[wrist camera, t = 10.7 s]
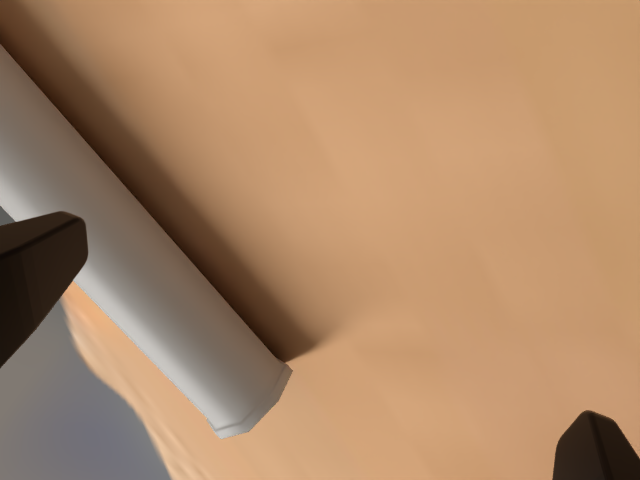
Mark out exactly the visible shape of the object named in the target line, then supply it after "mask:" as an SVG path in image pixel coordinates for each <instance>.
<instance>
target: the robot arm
mask: <svg viewBox="0 0 640 480" xmlns="http://www.w3.org/2000/svg"><path fill="white" fill-rule="evenodd" d="M87 258H88V241H87V230H86V223H85V221H84V219H83V218H81V217H79V216H76V215H74V214H71V213H68V212H65V211H58V212H53V213H49V214H46V215H42V216H38V217H34V218H30V219H26V220H22V221H18V222H14V223H10V224H6V225H2V226H0V368H1V367H2V366H3V364H5V363H6V361H7V360H8V359H9V358H10V357H11V356H12V355H13V354H14V353H15V352H16V351H17V350H18V349H19V347H20V346H21V345H22V344H23V343H24V342H25V341H26V340H27V339H28V338H29V336H30V335H31V334H32V333H33V332H34V331H35V330H36V329H37V327H38V326H39V325H40V323H41V322H42V321H43V320H44V318H45V317H46V316H47V315H48V313H49V312H50V310H51V309H52V308H53V307H54V305H55V304H56V302H57V301H58V300H59V298H60V297H61V296H62V294H63V293H64V292H65V290H66V289H67V288H68V286H69V285H70V284H71V282H72V281H73V280H74V278H75V277H76V276H77V274H78V273H79V272H80V270H81V269H82V268H83V266H84V265H85V263H86V261H87ZM552 480H640V458H639V457H638V455H637V454H636V452H635V451H634V449H633V448H632V446H631V445H630V443H629V442H628V440H627V439H626V437H625V435H624V434H623V432H622V431H621V429H620V428H619V426H618V425H617V424H616V422H615V421H614V420H612V419H611V418H609V417H606V416H604V415H601V414H598V413H596V412H593V411H589V410H586V411H584V412H582V413H581V414H580V415H579V416H578V417H577V419H576V420H575V421H574V422H573V423H572V424H571V426H570V427H569V428H568V429H567V430H566V431H565V433H564V434H563V435H562V436H561V438H560V439H559V441H558V444H557V447H556V453H555V462H554V470H553V479H552Z"/></svg>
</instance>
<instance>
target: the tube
mask: <svg viewBox="0 0 640 480" xmlns="http://www.w3.org/2000/svg"><path fill="white" fill-rule="evenodd" d="M0 206H1V207H2V208H3V209H4V210H5V211H6V212H7V213H8V214H9V215H10V216H11V217H12V218H13V219H14V220H15V221H16V222H18V221H22V220H26V219H30V218H34V217H38V216H42V215H46V214H49V213H53V212H58V211H65V212H68V213H71V214H74V215H76V216H79V217H81V218H83V219H84V221H85V223H86V230H87V241H88V258H87V261H86V263H85V265H84V266H83V268H82V269H81V270H80V272H79V273H78V274H77V276H76V277H75V278H74V280H73V281H74V282H75V283H76V284H77V285H78V286H79V287H80V288H81V289H82V290H83V291H84V292H85V293H86V294H87V295H88V296H89V297H90V298H91V299H92V300H93V301H94V302H95V303H96V304H97V305H98V306H99V308H100V309H101V310H102V311H103V312H104V313H105V314H106V315H107V316H108V317H109V318H110V319H111V320H112V321H113V322H114V323H115V324H116V325H117V326H118V327H119V328H120V329H121V330H122V331H123V332H124V333H125V334H126V335H127V336H128V337H129V338H130V339H131V340H132V341H133V342H134V344H135V345H136V346H137V347H138V348H139V349H140V350H141V351H142V352H143V353H144V354H145V355H146V356H147V357H148V358H149V359H150V360H151V361H152V362H153V363H154V364H155V365H156V366H157V367H158V368H159V369H160V370H161V371H162V372H163V373H164V374H165V375H166V376H167V377H168V379H169V380H170V381H171V382H172V383H173V384H174V385H175V386H176V387H177V388H178V389H179V390H180V391H181V392H182V393H183V394H184V395H185V396H186V397H187V398H188V399H189V400H190V401H191V402H192V403H193V404H194V405H195V406H196V407H197V408H198V409H199V410H200V411H201V412H202V413H203V415H204V416H205V417H206V418H207V422H208V423H209V425H210V426H211V428H212V429H213V431H214V432H215V434H216V435H217V436H218V437H219V438H220V439H223V438H227V437H231V436H235V435H238V434H242V433H246V432H249V431H250V430H251V429H252V428H253V427H254V426H255V425H256V424H257V423H258V422H259V421H260V419H261V418H262V417H263V416H264V415H265V414H266V413H267V412H268V411H269V410H270V409H271V408H272V407H273V406H274V405H275V404H276V403H277V402H278V401H279V399H280V397H281V395H282V392H283V390H284V388H285V386H286V384H287V382H288V380H289V378H290V376H291V374H292V371H293V370H292V369H291V368H290V367H289V366H288V365H287V364H285V363H284V362H282V361H281V360H279V359H278V358H275V357H274V356H273V354H272V353H271V352H270V351H269V350H268V349H267V348H266V346H265V345H264V344H263V343H262V342H261V341H260V340H259V338H258V337H257V336H256V335H255V334H254V333H253V332H252V330H251V329H250V328H249V327H248V326H247V325H246V324H245V322H244V321H243V320H242V319H241V318H240V317H239V316H238V314H237V313H236V312H235V311H234V310H233V309H232V308H231V307H230V305H229V304H228V303H227V302H226V301H225V300H224V299H223V297H222V296H221V295H220V294H219V293H218V292H217V291H216V289H215V288H214V287H213V286H212V285H211V284H210V283H209V281H208V280H207V279H206V278H205V277H204V276H203V275H202V273H201V272H200V271H199V270H198V269H197V268H196V267H195V265H194V264H193V263H192V262H191V261H190V260H189V259H188V258H187V256H186V255H185V254H184V253H183V252H182V251H181V250H180V248H179V247H178V246H177V245H176V244H175V243H174V242H173V240H172V239H171V238H170V237H169V236H168V235H167V234H166V232H165V231H164V230H163V229H162V228H161V227H160V226H159V224H158V223H157V222H156V221H155V220H154V219H153V218H152V216H151V215H150V214H149V213H148V212H147V211H146V210H145V208H144V207H143V206H142V205H141V204H140V203H139V202H138V201H137V199H136V198H135V197H134V196H133V195H132V194H131V193H130V191H129V190H128V189H127V188H126V187H125V186H124V185H123V183H122V182H121V181H120V180H119V179H118V178H117V177H116V175H115V174H114V173H113V172H112V171H111V170H110V169H109V167H108V166H107V165H106V164H105V163H104V162H103V161H102V159H101V158H100V157H99V156H98V155H97V154H96V153H95V151H94V150H93V149H92V148H91V147H90V146H89V145H88V144H87V142H86V141H85V140H84V139H83V138H82V137H81V136H80V134H79V133H78V132H77V131H76V130H75V129H74V128H73V126H72V125H71V124H70V123H69V122H68V121H67V120H66V118H65V117H64V116H63V115H62V114H61V113H60V112H59V110H58V109H57V108H56V107H55V106H54V105H53V104H52V102H51V101H50V100H49V99H48V98H47V97H46V96H45V94H44V93H43V92H42V91H41V90H40V89H39V88H38V87H37V85H36V84H35V83H34V82H33V81H32V80H31V79H30V77H29V76H28V75H27V74H26V73H25V72H24V71H23V69H22V68H21V67H20V66H19V65H18V64H17V63H16V61H15V60H14V59H13V58H12V57H11V56H10V55H9V53H8V52H7V51H6V50H5V49H4V48H3V47H2V45H1V44H0Z"/></svg>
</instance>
